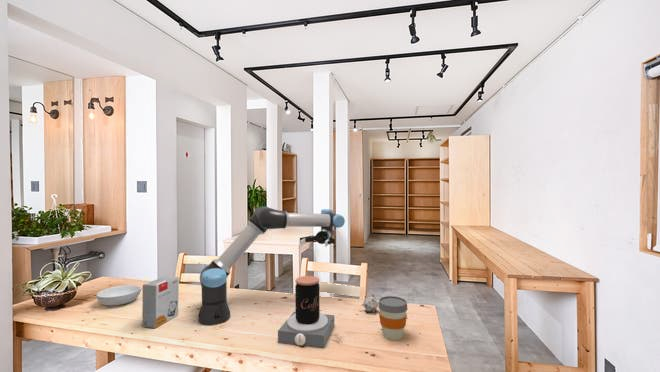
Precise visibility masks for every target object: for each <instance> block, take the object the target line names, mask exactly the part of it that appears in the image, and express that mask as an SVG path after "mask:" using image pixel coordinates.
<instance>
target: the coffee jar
mask: <svg viewBox="0 0 660 372" xmlns="http://www.w3.org/2000/svg"><path fill="white" fill-rule="evenodd" d="M295 283H296V284H295V285H294V286H295V289H294V291H295V293H294V294H295V296H294V297H295V300H294V301H295V309H294V310H295V312H296V320H297V322H299V323H301V324H313V323H316V322H317V321H318V319H319V316H320V313H321V312H320V278H319V277H317V276H313V275H304V276H300V277H297V278H295Z"/></svg>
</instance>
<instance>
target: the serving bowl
mask: <svg viewBox="0 0 660 372" xmlns="http://www.w3.org/2000/svg"><path fill="white" fill-rule="evenodd" d="M141 291H142V286H140V285H136V284H128V285H118V286H113V287H108V288H105V289H102V290H100V291H99V292H97V293H96V299H97V301H98V302H99V303H100V304H102V305H105V306H113V305H115V306H121V305H120V304H122V305H125V304H127V303H130V302H132V301H134V300H136V299H137V298H138V297H139V296H140V294H141Z"/></svg>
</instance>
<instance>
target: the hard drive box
mask: <svg viewBox="0 0 660 372" xmlns="http://www.w3.org/2000/svg"><path fill="white" fill-rule="evenodd" d="M179 281H180V280H179V276H176V275H175V276H173V275H166V276H163V277H160V278H158V279H155V280H152V281H149V282H146V283H144V284H142V310H141V311H142V312H141V313H142V314H141V318H142V321H141V322H142V323H141V325H142V327H144V328H151V329H156V328H158V327H160V326H162V325H164V324H165V323H167V322H169V321H171V320H173V319H174V318H176V317H177V316H179V291H180V290H179V287H180V286H179Z"/></svg>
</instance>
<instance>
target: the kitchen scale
mask: <svg viewBox="0 0 660 372" xmlns="http://www.w3.org/2000/svg"><path fill="white" fill-rule="evenodd" d="M334 328H335V315H334V314H326V313H325V314H324V313H321V312H320V316H319V319H318V321H317V322H316V323H313V324H301V323H299V322H297V320H296V311H293V312H292V313H291V314H290V316H289V317H288V318H287V319H286V320H285V322H284V323H283V324H282V325H281V326H280V328H279V329H278V330H277V343H281V344H287V345H295V346H297V345H298V346H305V347H312V348H320V349H321V348H322V349H324V348H325V347H326V345H327V342H329V341H328V340H329V338H330V336H331V334H332V332H333V329H334Z"/></svg>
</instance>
